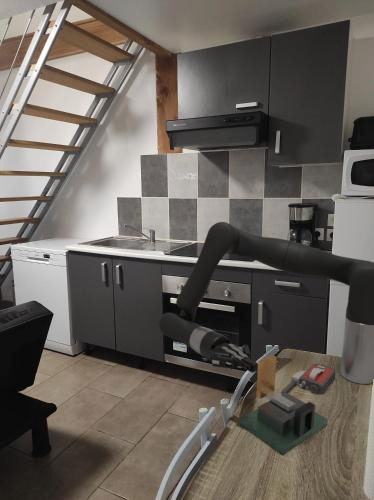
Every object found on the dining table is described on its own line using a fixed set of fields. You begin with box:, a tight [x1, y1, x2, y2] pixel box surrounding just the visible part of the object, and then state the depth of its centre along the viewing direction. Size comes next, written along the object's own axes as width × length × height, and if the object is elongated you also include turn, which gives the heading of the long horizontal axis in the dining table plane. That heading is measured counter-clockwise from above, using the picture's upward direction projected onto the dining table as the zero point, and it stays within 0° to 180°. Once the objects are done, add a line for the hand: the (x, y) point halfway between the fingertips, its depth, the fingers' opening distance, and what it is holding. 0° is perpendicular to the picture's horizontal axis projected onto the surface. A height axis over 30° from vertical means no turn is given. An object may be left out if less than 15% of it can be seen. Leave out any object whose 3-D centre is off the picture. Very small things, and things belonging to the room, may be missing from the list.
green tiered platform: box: [239, 392, 328, 455], centre depth 83 cm, size 16×12×7 cm
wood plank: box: [256, 354, 296, 412], centre depth 84 cm, size 5×8×9 cm, turn 38°
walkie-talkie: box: [280, 363, 336, 395], centre depth 100 cm, size 9×4×20 cm
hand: (255, 368), depth 89 cm, fingers closed
